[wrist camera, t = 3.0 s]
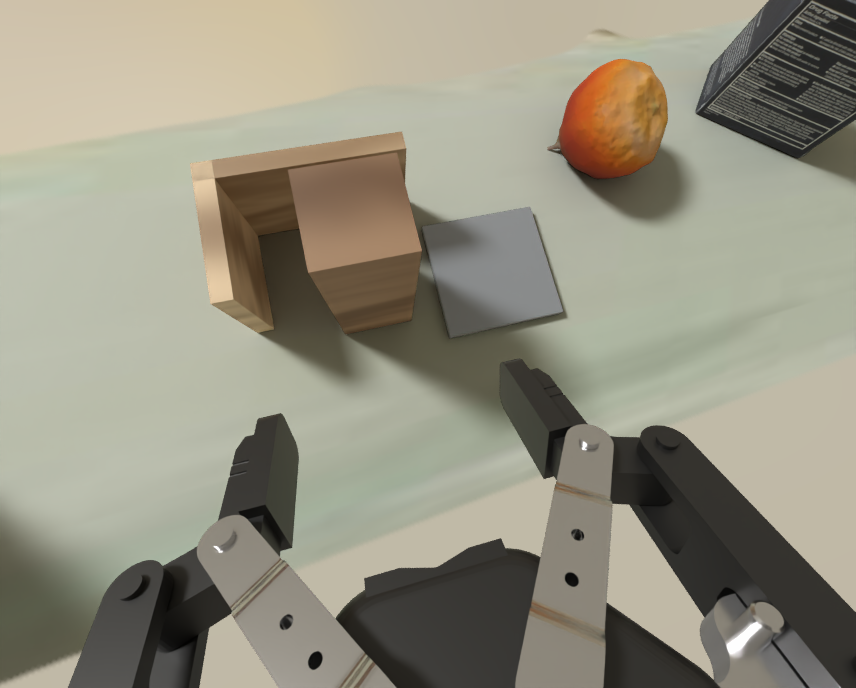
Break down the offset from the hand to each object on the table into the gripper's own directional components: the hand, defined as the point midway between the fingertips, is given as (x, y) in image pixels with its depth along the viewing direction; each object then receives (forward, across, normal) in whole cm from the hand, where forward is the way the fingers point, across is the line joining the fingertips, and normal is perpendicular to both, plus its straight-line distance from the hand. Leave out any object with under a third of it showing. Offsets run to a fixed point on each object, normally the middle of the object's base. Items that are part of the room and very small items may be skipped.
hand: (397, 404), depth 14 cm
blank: (+16, 0, +3) cm, 16 cm away
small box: (+23, -38, -4) cm, 45 cm away
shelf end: (+18, +2, +1) cm, 18 cm away
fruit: (+22, -21, -3) cm, 31 cm away
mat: (+16, -10, +3) cm, 19 cm away
